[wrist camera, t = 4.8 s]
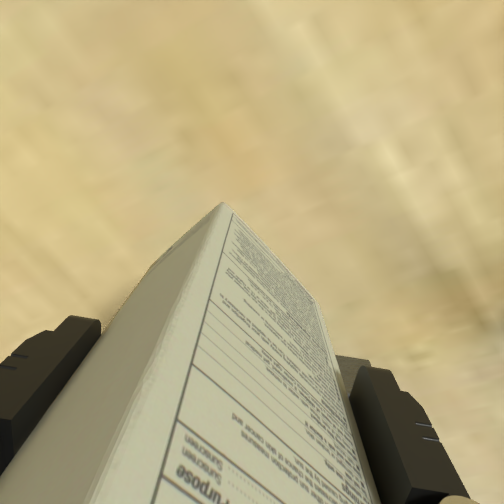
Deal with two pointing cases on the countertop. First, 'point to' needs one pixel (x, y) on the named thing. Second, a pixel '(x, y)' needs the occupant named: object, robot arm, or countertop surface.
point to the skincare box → (202, 392)
